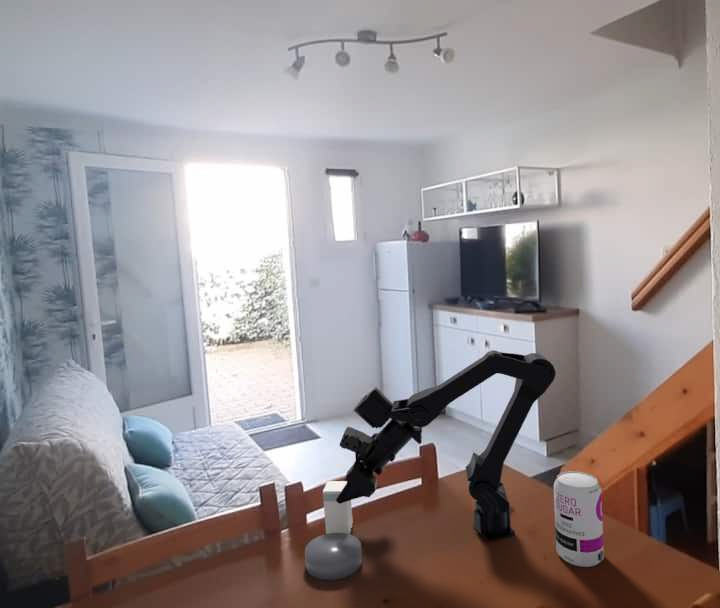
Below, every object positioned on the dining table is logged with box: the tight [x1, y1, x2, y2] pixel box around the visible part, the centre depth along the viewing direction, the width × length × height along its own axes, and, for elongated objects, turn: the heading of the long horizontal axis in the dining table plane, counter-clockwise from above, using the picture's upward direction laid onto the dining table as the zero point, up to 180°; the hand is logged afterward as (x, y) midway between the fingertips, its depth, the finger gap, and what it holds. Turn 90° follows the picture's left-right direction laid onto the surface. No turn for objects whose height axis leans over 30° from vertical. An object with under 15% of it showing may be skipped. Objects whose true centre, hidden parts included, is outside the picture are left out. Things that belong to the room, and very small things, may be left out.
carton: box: [322, 480, 354, 535], centre depth 111 cm, size 5×5×10 cm
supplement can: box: [553, 471, 605, 568], centre depth 96 cm, size 8×8×15 cm
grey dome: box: [304, 533, 363, 581], centre depth 100 cm, size 11×11×3 cm
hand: (341, 491), depth 111 cm, fingers open, 9 cm apart
